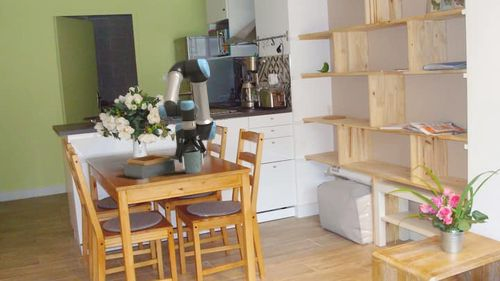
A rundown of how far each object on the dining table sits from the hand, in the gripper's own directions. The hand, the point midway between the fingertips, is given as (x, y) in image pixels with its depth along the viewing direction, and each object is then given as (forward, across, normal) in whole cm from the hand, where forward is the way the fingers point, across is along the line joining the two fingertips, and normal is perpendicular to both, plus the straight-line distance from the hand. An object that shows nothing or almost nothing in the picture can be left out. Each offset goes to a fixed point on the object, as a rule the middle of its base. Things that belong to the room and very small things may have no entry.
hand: (192, 166), depth 319 cm
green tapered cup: (+4, 0, 0) cm, 4 cm away
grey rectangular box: (+3, -13, +20) cm, 24 cm away
